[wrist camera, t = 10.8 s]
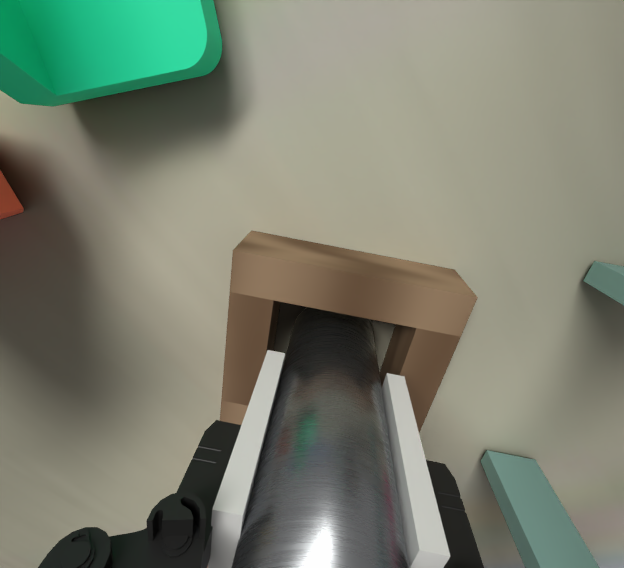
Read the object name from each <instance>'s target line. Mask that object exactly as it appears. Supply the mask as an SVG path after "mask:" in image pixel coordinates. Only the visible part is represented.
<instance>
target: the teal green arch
mask: <svg viewBox="0 0 624 568" xmlns="http://www.w3.org/2000/svg"><path fill="white" fill-rule="evenodd" d="M584 282H586V283H588V284H589V285H591V286H593V287H594V288H596V289H598V290H599V291H601V292H602V293H604V294H606V295H607V296H609V297H611V298H612V299H614V300H616V301H617V302H619V303H621V304H622V305H624V267H623V266H618V265H613V264H607V263H602V262H597V261H594V263H593V265H592V266H591V268H590V270H589V272H588V273H587V275H586V277H585V279H584ZM481 464H482V466H483V468H484V471H485V473H486V475H487V478H488V480H489V483H490V485H491V487H492V490H493V492H494V494H495V497H496V499H497V502H498V504H499V506H500V509H501V511H502V513H503V516H504V518H505V520H506V523H507V525H508V528H509V530H510V532H511V535H512V537H513V539H514V542H515V544H516V546H517V549H518V551H519V554H520V556H521V558H522V561H523V563H524V565H525V568H599V566H598V565H597V563H596V561H595V560H594V558H593V556H592V554H591V553H590V551H589V549H588V548H587V546H586V544H585V543H584V541H583V539H582V538H581V536H580V534H579V533H578V531H577V529H576V527H575V526H574V524H573V522H572V521H571V519H570V517H569V516H568V514H567V512H566V511H565V509H564V507H563V506H562V504H561V502H560V501H559V499H558V497H557V495H556V494H555V492H554V490H553V489H552V487H551V485H550V484H549V482H548V480H547V479H546V477H545V475H544V474H543V472H542V470H541V468H540V467H539V465H538V463H537V462H536V460H534V459H529V458H523V457H518V456H513V455H508V454H503V453H498V452H493V451H488V450H487V451H486V453H485V454H484V456H483V458H482V460H481Z"/></svg>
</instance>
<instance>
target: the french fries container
mask: <svg viewBox="0 0 624 568" xmlns="http://www.w3.org/2000/svg"><path fill="white" fill-rule="evenodd" d="M22 212H23V207H22V205H21V203H20V202H19V200H18V198H17V197H16V195H15V194H14V192H13V190H12V189H11V187H10V185H9V184H8V182H7V180H6V179H5V177H4V175H3V174H2V172H1V171H0V219H3V218H7V217H10V216H13V215H16V214H19V213H22Z"/></svg>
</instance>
